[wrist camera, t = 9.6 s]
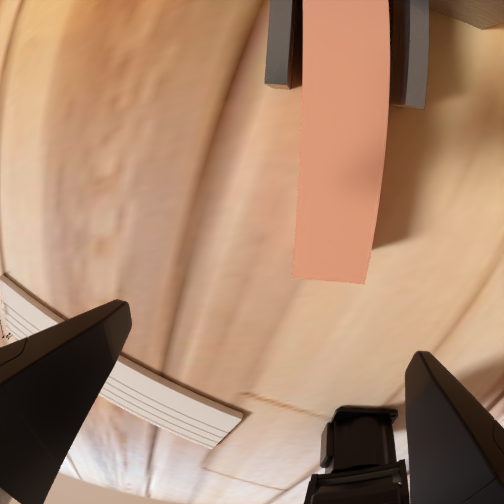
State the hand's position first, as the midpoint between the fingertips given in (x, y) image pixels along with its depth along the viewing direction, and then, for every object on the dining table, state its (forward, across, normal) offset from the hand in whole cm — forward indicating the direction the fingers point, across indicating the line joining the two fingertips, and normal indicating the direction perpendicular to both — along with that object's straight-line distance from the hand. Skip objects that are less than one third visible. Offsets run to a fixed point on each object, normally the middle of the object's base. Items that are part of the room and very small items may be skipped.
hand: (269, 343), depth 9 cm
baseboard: (+13, +18, +21) cm, 31 cm away
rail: (+12, -2, -6) cm, 13 cm away
